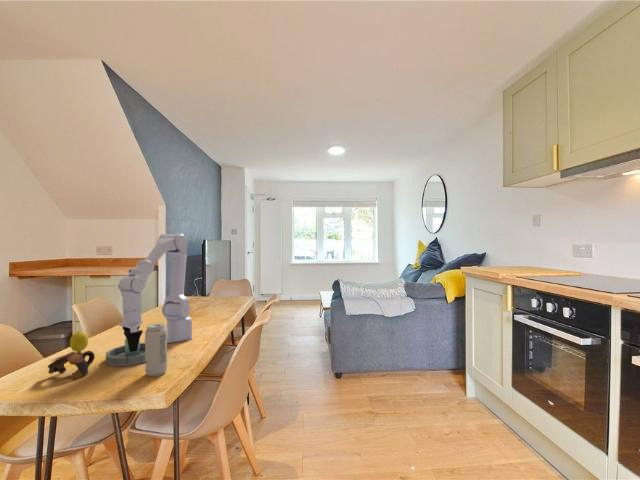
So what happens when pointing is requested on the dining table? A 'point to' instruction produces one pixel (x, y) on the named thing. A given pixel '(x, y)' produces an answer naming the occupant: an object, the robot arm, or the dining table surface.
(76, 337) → the lemon
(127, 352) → the teal cup
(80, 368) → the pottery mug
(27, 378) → the dining table surface
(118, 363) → the tray
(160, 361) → the energy drink can
